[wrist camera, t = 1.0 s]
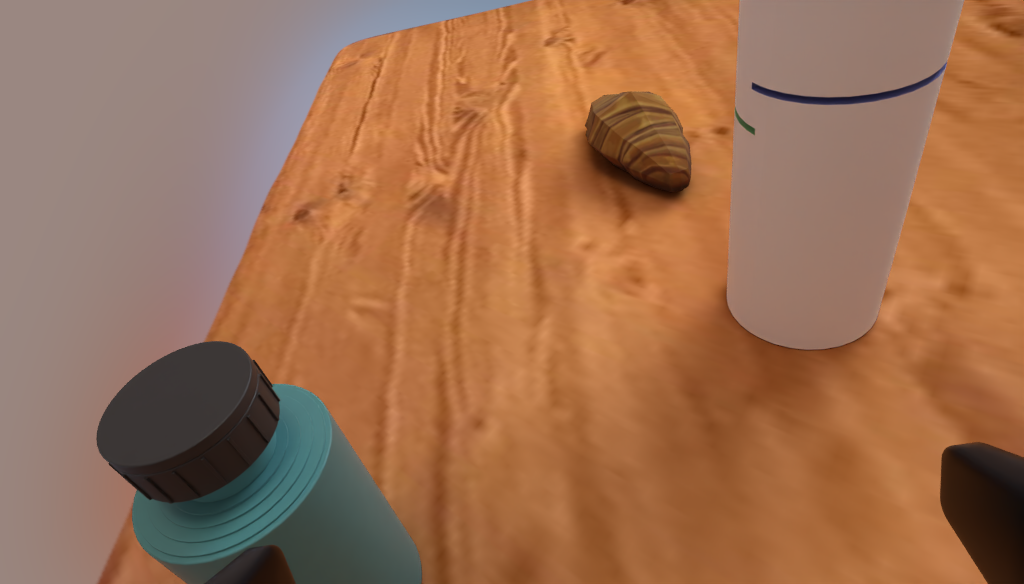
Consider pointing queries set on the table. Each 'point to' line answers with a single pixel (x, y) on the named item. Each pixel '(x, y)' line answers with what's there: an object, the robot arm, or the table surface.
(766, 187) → the cylindrical container
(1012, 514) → the robot arm
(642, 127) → the croissant
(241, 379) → the cap
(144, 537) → the bottle
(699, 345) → the table surface
